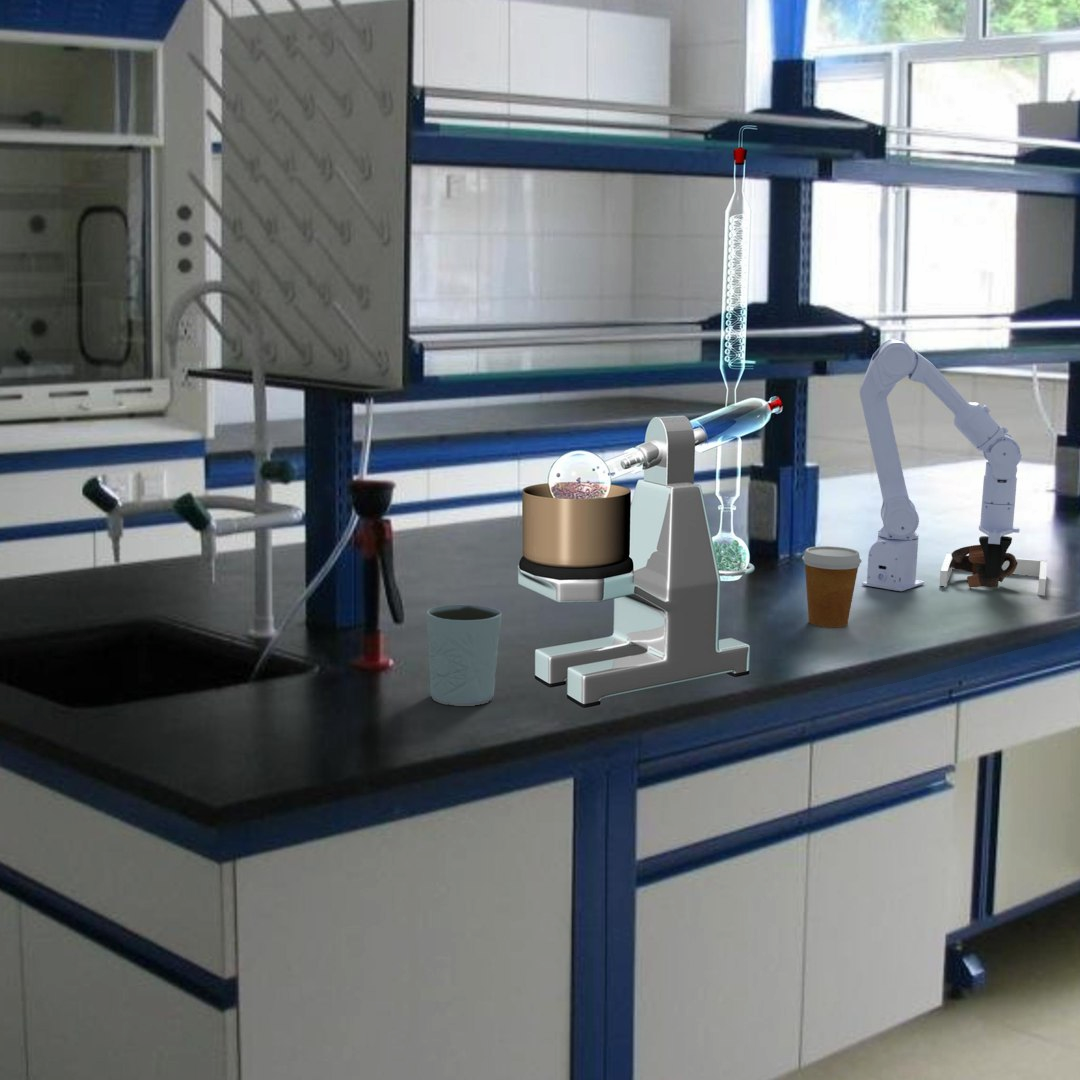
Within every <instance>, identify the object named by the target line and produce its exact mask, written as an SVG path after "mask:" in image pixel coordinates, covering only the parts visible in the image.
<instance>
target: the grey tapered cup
mask: <svg viewBox="0 0 1080 1080" xmlns="http://www.w3.org/2000/svg"><path fill="white" fill-rule="evenodd" d="M502 614H503V613H502V611H500V610H499V609H496V608H493V607H490V606H489V607H488V606H484V605H477V604H449V605H448V604H446V605H439V606H435V607H431V608H429V609H428V610H427V611H426V615H425V616H426V626H427V634H428V636H427V639H428V643H429V644H428V662H429V663H428V666H429V683H430V684H429V688H430V691H429V692H430V697H431V696H432V697H433V698H434V699H437V700H440V701H444V702H449V703H474V702H481V701H486V700H489V699H491V698H492V697H493V696H495V685H496V677H495V676H496V670H497V664H498V663H497V660H498V654H499V653H498V648H499V636H500V631H501V625H502V623H501V622H502V616H503V615H502ZM493 698H494V697H493Z"/></svg>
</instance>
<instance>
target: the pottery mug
mask: <svg viewBox="0 0 1080 1080" xmlns="http://www.w3.org/2000/svg"><path fill="white" fill-rule="evenodd" d="M951 553H952V558H953V559H952V561H951V563H950V565H949V568H951V567H952V568H954V569H956V570H955V571H963V570H964V572H968V573H972V574H971V575H968V576H967V577H966V580H967V582H968V588H969V587H974V588H978V587H989V588H991V587H992V588H999V582H1000V583H1002V582H1003V581H1004V579H1005V578H1006V577H1009V576H1011V575H1012V573H1013V572H1014V571H1015V569H1016V567H1017V564H1018V563H1017V561H1016V558H1017V557H1016V556H1015V555H1014V554H1013V553H1009V552H1006V554H1005V556H1004V560H1003V564H1004V562H1005V561H1009V566H1008V568H1007V569H1006V570H1003V569H1002V568H1001V572H1000V575H999V577H998V578H993V577H987V575H986V570H985V559H984V554H983V550H982V547H981V545H980V544H975V545H969V546H968V545H967V546H963V547H960V548H958V549H954V551H952V552H951ZM967 554H969V556H966V555H967ZM1003 564H1002V565H1003Z"/></svg>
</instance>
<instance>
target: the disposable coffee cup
mask: <svg viewBox="0 0 1080 1080" xmlns="http://www.w3.org/2000/svg"><path fill="white" fill-rule="evenodd" d="M801 559H802V561H803V564H804V569H805V586H806V598H807V599H806V600H807V611H808V613H807V614H808V615H807V616H808V623H809V624H810V623H811V624H810V625H812V626H816V625H817V626H816V627H820V626H822V628H833V627H835V628H842V626H843V627H847V625H848V623H849V619H850V618H849V617H850V613H851V607H852V603H853V597H854V590H855V585H856V581H857V576H858V575H857V574H858V570H859V567H860V566H861V565H860V564H861V563H862V562H863V561H862V559H861V558H860V553H859V551H858V550H856V549H852V548H848V547H843V546H842V547H840V546H829V545H828V546H827V545H825V546H821V545H819V546H810V547H807V548H805V552H804V555H802V558H801Z"/></svg>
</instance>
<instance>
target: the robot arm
mask: <svg viewBox="0 0 1080 1080" xmlns="http://www.w3.org/2000/svg"><path fill="white" fill-rule="evenodd" d="M906 377H908V380H909V381H912V382H916V383H919V384H923V385H924V386H926V387H927V388H928V390H930V391H931V392H932V393H933V394H934V395H935V397H937V398H938V399H939V400H940V401H941V402H942V404H944V405H945V406H946V407H947V408H948V409H949V410H950V412H952V413H953V415H954V418H953V420H954V421H953V424H954V427H955V428H956V429H957V430H958V431H959V432H960V433H961V434H962V435H963V436H964V437H965V438H966V439H967V440H968V441H969V442H970V443H971V445H973V446H974V448H975V449H977V451H982V453H983V456H984V458H985V460H987V461H986V462H985V474H984V475H983V485H982V496H981V497H982V499H981V511H980V523H979V525H978V530H979V532H981V533H983V534H984V535H981V536H979V538H978V541H979V545H981V547H982V550H983V554H984V559H985V570H986V575H987V577H993V578H998V577H999V575H1000V572H1001V568H1002V564H1003V560H1004V556H1005V554H1006V553H1007V551H1008V549H1009V548H1010V546H1011V544H1012V542H1013V537H1011V536H1007V535H1011V534H1013V533H1017V534H1018V533H1020V531H1021V530H1020V527H1019V526H1014V522H1015V521H1014V519H1015V518H1014V517H1015V506H1016V505H1015V504H1016V495H1017V492H1016V491H1017V481H1018V479H1017V478H1018V477H1017V473H1018V467H1017V466H1018V464H1019V463H1020V461H1021V460H1022V456H1023V455H1022V453H1021V450H1020V449H1021V448H1020V445H1019V444H1018V443H1017V441H1015V439H1013V437H1012V435H1011V434H1009V433H1008V432H1009V429H1008V428H1006V426H1003V427H1002V426H1001V425H1000V424H999V423H998V421H996V419H994V417H992V416H991V414H990V412H991V409H990V408H989V407H988V406H987V405H985V404H984V405H983V406H982V405H981V404H980V402H970V401H969V402H968V401H967V400H966V399H965V398H964V397H963V396H962V395H961V394H960V393H959V392H958V391H957V389H956V388H955V387H954V386H953V385H952V383H950V382H949V381H948V379H946V377H945V376H944V375H943V374H942V373H941V371H940V370H939V369H938V368H937V367H936V366H935V365H934V364H933V363H932V362H931V361H929V359H927V358H926V357H925V356H923V355H922V354H921V353H919V352H918V351H916V350H913V349H912V347H910V345H909V343H907V342H906V341H905V340H902V339H900V338H891V339H888V340H885V341H884V342H883V343H882V344H881V345H880V346H879V347H878V348H877V350H875V352H874V353H873V354H872V357H871V359H870V361H869V364H868V367H867V370H866V372H865V374H864V377H863V379H862V381H861V384H860V387H859V397H860V402H861V407H862V411H863V415H864V419H865V425H866V428H867V434H868V438H869V442H870V446H871V451H872V455H873V456H872V457H873V461H874V464H875V465H874V466H875V469H876V474H877V479H878V483H879V487H880V494H881V498H882V506H881V509H880V518H881V521H882V523H883V524H882V525H883V526H882V527H881V529H878V531H877V540H876V542H875V543H874V544H872V546H870V549H869V550H868V557H867V570H866V571H867V572H866V573H867V574H866V581H863V582H861V585H862V586H866V587H867V586H868V587H874V588H879V589H885V590H891V591H896V592H903V591H906V590H909V589H912V588H915V587H919V586H922V585H924V584H925V581H924V580H921V579H920V580H919V579H917V565H918V551H919V533H917V532H916V531H917V530H918V528H919V524H920V516H919V514H918V512H917V510H916V507H915V504H914V503H913V501H912V500H911V499H910V498H909V492H908V489H907V485H906V482H905V477H904V472H903V468H902V467H903V466H902V463H901V459H900V454H899V449H898V445H897V439H896V436H895V435H896V434H895V432H894V427H893V423H892V422H893V421H892V418H891V413H890V408H889V404H888V396H889V394H890V393H891V392H892V390H893V389H894V388H895V386H896V385H897V384H898V383H899V382H900V381H902V380H903V379H905V378H906ZM985 535H986V536H985Z"/></svg>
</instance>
